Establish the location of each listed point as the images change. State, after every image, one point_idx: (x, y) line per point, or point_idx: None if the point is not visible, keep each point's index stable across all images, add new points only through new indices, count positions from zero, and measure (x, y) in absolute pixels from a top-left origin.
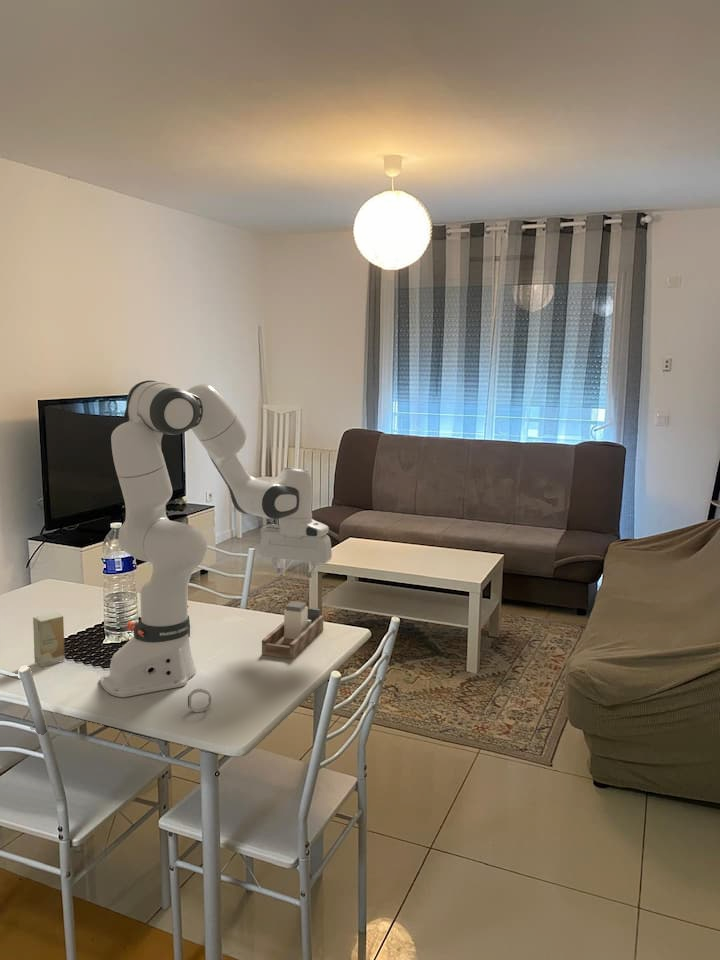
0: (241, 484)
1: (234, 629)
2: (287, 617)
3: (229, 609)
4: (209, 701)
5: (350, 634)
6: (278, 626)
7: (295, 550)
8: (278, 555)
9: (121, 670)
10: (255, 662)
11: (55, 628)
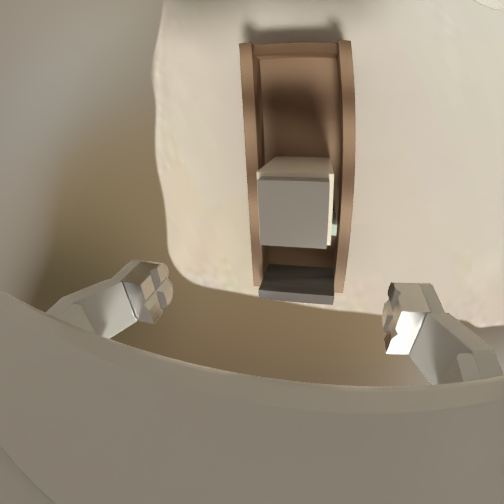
0: None
1: (475, 210)
2: (319, 168)
3: (490, 318)
4: None
5: (190, 250)
6: (353, 167)
7: (107, 478)
8: (456, 417)
9: None
10: (336, 9)
11: None
